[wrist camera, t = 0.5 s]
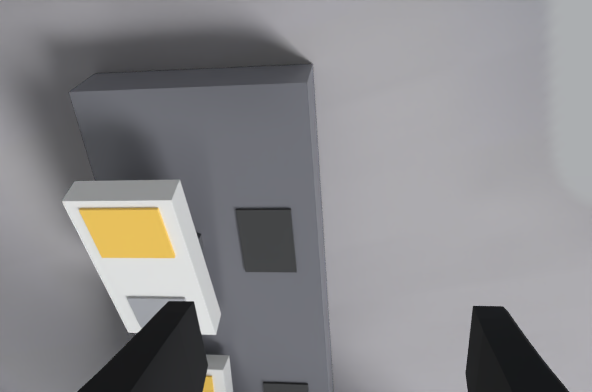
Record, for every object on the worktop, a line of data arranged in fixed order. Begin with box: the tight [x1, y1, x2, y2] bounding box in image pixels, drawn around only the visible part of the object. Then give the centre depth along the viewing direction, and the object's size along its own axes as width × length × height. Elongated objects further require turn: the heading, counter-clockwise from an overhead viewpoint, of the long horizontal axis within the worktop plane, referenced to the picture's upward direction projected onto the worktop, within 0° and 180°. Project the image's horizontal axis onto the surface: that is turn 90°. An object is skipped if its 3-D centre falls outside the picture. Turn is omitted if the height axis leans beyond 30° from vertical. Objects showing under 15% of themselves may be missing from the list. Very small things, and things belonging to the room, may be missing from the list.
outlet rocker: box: [62, 180, 221, 335], centre depth 19 cm, size 7×4×1 cm, turn 5°
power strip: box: [69, 64, 334, 392], centre depth 23 cm, size 21×8×3 cm, turn 4°
